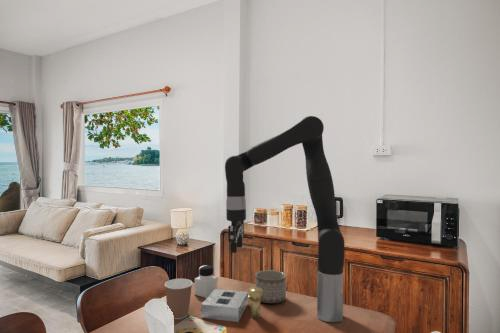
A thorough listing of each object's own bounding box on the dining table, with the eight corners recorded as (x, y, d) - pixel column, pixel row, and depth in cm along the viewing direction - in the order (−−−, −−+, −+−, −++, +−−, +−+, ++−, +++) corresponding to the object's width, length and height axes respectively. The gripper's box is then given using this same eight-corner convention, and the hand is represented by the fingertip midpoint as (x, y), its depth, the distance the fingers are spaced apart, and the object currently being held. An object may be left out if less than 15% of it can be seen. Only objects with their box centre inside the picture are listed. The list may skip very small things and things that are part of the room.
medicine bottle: (217, 293, 151) (217, 265, 150) (207, 298, 145) (207, 270, 144) (204, 289, 154) (205, 263, 154) (194, 294, 148) (194, 267, 148)
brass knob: (263, 314, 131) (264, 287, 131) (261, 320, 125) (261, 292, 125) (249, 312, 132) (250, 286, 132) (246, 318, 127) (246, 291, 126)
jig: (247, 304, 139) (248, 291, 139) (238, 322, 124) (238, 308, 124) (214, 300, 142) (214, 288, 142) (201, 317, 127) (201, 304, 127)
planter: (274, 308, 136) (275, 282, 136) (249, 300, 143) (249, 275, 143) (291, 298, 146) (291, 274, 146) (266, 291, 153) (266, 268, 153)
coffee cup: (176, 307, 136) (176, 276, 135) (197, 312, 131) (198, 281, 131) (158, 317, 126) (158, 285, 126) (181, 324, 122) (181, 290, 122)
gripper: (241, 210, 125) (241, 255, 125) (249, 205, 139) (250, 245, 139) (221, 210, 127) (221, 254, 127) (231, 205, 141) (232, 245, 141)
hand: (236, 249), depth 133 cm, fingers open, 8 cm apart
